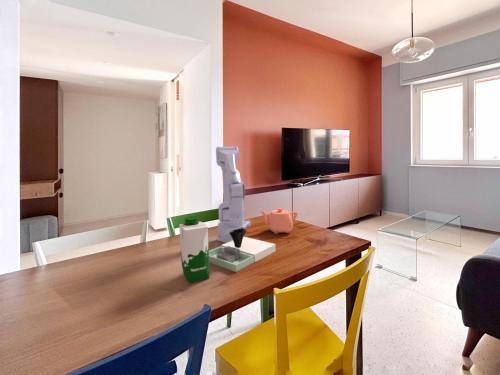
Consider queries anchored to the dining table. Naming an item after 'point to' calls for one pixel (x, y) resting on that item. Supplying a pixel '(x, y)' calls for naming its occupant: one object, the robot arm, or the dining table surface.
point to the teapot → (280, 220)
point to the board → (254, 247)
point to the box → (235, 266)
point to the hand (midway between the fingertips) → (237, 247)
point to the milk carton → (194, 249)
